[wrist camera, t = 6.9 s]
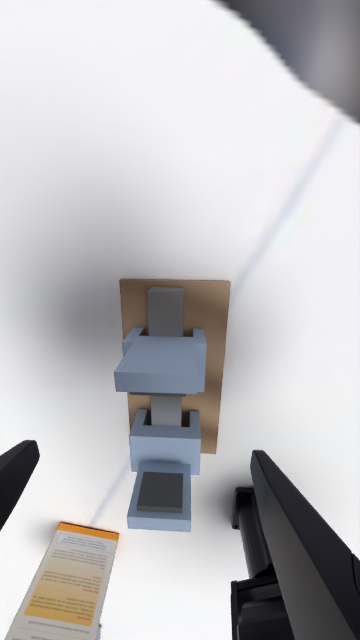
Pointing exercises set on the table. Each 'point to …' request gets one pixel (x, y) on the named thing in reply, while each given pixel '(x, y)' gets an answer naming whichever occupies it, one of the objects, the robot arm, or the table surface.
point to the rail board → (196, 317)
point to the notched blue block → (162, 364)
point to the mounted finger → (163, 473)
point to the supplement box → (67, 587)
